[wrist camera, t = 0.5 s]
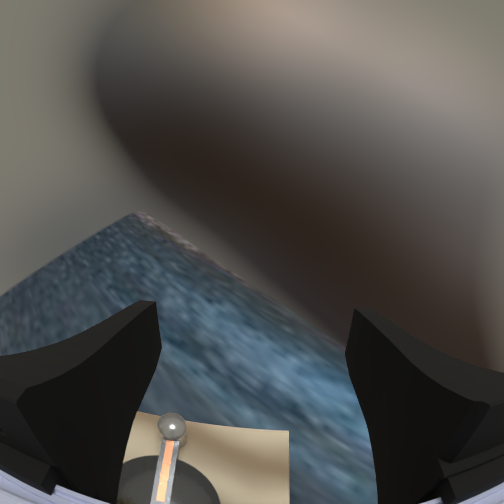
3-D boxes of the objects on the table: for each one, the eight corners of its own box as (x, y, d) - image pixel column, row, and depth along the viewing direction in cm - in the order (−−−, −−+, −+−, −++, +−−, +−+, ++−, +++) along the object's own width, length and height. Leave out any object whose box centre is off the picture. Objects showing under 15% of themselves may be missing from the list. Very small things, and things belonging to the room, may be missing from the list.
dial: (216, 564, 14) (218, 568, 12) (100, 540, 13) (87, 538, 11) (227, 434, 24) (230, 420, 22) (128, 416, 23) (120, 401, 22)
